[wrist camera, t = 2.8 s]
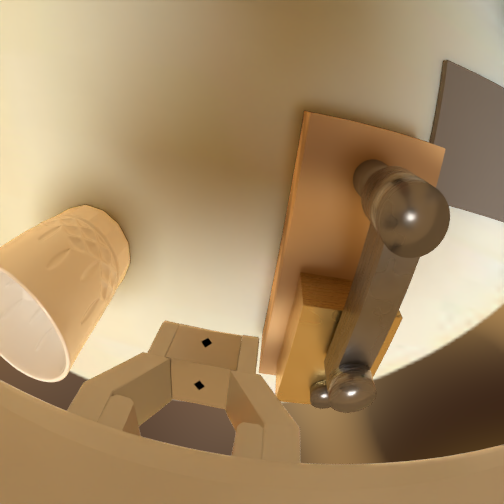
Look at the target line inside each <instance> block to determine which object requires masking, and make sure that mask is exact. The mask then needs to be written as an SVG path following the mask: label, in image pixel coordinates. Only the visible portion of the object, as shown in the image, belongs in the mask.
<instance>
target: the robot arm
mask: <svg viewBox="0 0 504 504" xmlns="http://www.w3.org/2000/svg"><path fill="white" fill-rule="evenodd" d="M241 340H242V341H241ZM258 346H259V338H258V337H254V336H246V335H243V336H242V335H237V334H231V333H225V332H219V331H213V330H208V329H203V328H198V327H194V326H189V325H184V324H179V323H174V322H170V321H164V322H163V323H162V325H161V327H160V329H159V331H158V333H157V335H156V337H155V339H154V341H153V343H152V345H151V347H150V349H149V351H148V353H144V352H142V353H141V354H139V355H137V356H135V357H133V358H131V359H129V360H127V361H125V362H123V363H121V364H119V365H117V366H115V367H113V368H111V369H109V370H107V371H105V372H103V373H101V374H99V375H97V376H95V377H93V378H91V379H89V380H87V381H86V382H84V383H83V384H82V386H81V388H80V389H79V391H78V393H77V395H76V396H75V398H74V399H73V401H72V403H71V405H70V406H69V408H68V410H67V411H65V410H63V409H61V408H58V407H56V406H53V405H51V404H49V403H47V402H44V401H42V400H40V399H38V398H35V397H33V396H31V395H29V394H27V393H25V392H23V391H21V390H19V389H17V388H15V387H13V386H11V385H9V384H7V383H5V382H3V381H1V380H0V504H504V445H500V446H496V447H492V448H487V449H483V450H479V451H474V452H469V453H464V454H458V455H452V456H446V457H439V458H432V459H424V460H415V461H405V462H394V463H393V462H392V463H375V464H309V463H300V427H299V426H298V425H297V424H296V422H295V421H294V419H293V418H292V417H291V416H290V414H289V413H288V412H287V410H286V409H285V408H284V406H283V405H282V404H281V402H280V401H279V400H278V398H277V397H276V395H275V394H274V393H273V391H272V390H271V389H270V387H269V386H268V385H267V383H266V382H265V380H264V379H263V378H262V376H261V375H259V374H256V366H257V356H258ZM172 399H175V400H181V401H186V402H192V403H197V404H202V405H206V406H211V407H216V408H221V409H225V411H226V413H227V415H228V417H229V419H230V421H231V423H232V425H233V427H234V430H235V431H236V435H235V440H234V445H233V449H232V454H231V456H228V455H222V454H217V453H211V452H205V451H200V450H195V449H190V448H186V447H181V446H176V445H172V444H168V443H164V442H160V441H156V440H152V439H149V438H145V437H141V434H140V430H139V426H140V425H141V424H142V423H144V422H145V421H146V420H147V419H149V418H150V417H151V416H153V415H154V414H155V413H156V412H158V411H159V410H160V409H161V408H162V407H164V406H165V405H166V404H168V403H169V402H170V401H171V400H172Z"/></svg>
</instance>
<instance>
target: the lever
mask: <svg viewBox="0 0 504 504" xmlns="http://www.w3.org/2000/svg"><path fill="white" fill-rule="evenodd" d="M361 204H362V208H363V211H364V213H365V215H366V217H367V218H368V220H369V221H370V225H369V229H368V232H367V236H366V239H365V243H364V246H363V250H362V253H361V256H360V259H359V263H358V266H357V269H356V272H355V275H354V279H353V282H352V285H351V288H350V291H349V294H348V297H347V300H346V303H345V305H344V308H343V311H342V314H341V317H340V320H339V322H338V325H337V328H336V331H335V333H334V336H333V339H332V341H331V344H330V347H329V349H328V352H327V355H326V357H325V360H324V367H325V376H326V385H327V391H328V392H329V402H330V406H331V407H332V408H333V409H334V410H336V411H339V412H347V413H349V412H356V411H359V410H362V409H364V408H366V407H368V406H369V405H370V404H372V403H373V401H374V400H375V398H376V389H375V385H374V381H373V377H372V373H371V370H370V369H371V367H372V365H373V363H374V361H375V359H376V357H377V355H378V353H379V351H380V349H381V347H382V345H383V343H384V341H385V339H386V337H387V335H388V332H389V330H390V328H391V326H392V324H393V322H394V319H395V317H396V315H397V312H398V310H399V308H400V306H401V303H402V301H403V298H404V296H405V294H406V291H407V289H408V286H409V284H410V281H411V279H412V276H413V274H414V271H415V268H416V266H417V263H418V260H419V258H420V256H423V255H426V254H428V253H429V252H431V251H432V250H434V249H435V248H436V247H437V246H438V245H439V244H440V242H441V241H442V240H443V238H444V236H445V234H446V232H447V230H448V226H449V221H450V211H449V206H448V203H447V201H446V199H445V197H444V196H443V194H442V193H441V192H440V191H439V190H438V189H437V188H435V187H434V186H432V185H431V184H429V183H428V182H426V181H425V180H423V179H421V178H420V177H418V176H417V175H415V174H413V173H412V172H410V171H409V170H407V169H405V168H403V167H399V166H387V167H383V168H381V169H379V170H377V171H376V172H374V173H373V174H372V175H371V176H370V177H369V178H368V180H367V181H366V183H365V185H364V187H363V190H362V195H361Z"/></svg>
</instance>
